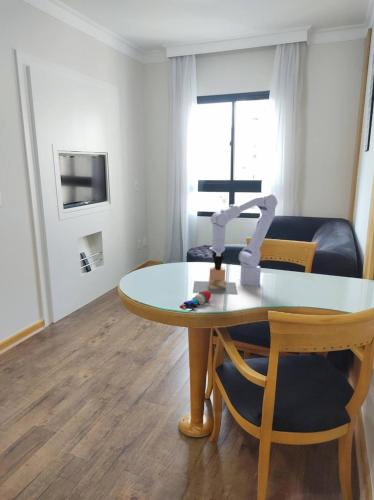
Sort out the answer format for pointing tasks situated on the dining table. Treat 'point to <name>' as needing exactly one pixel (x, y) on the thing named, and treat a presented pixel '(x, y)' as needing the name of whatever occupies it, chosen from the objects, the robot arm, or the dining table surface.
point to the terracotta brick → (217, 273)
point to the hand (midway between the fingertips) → (217, 267)
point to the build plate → (203, 286)
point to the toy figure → (198, 299)
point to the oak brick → (217, 284)
